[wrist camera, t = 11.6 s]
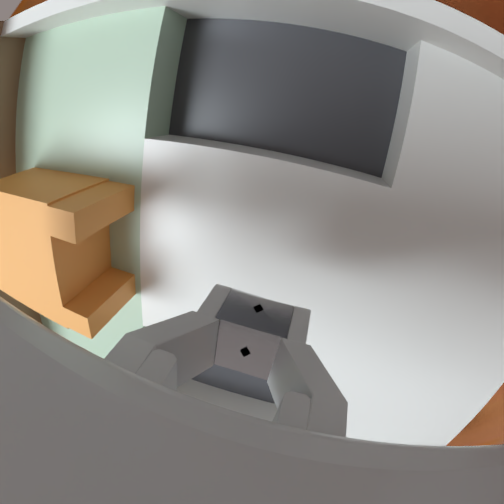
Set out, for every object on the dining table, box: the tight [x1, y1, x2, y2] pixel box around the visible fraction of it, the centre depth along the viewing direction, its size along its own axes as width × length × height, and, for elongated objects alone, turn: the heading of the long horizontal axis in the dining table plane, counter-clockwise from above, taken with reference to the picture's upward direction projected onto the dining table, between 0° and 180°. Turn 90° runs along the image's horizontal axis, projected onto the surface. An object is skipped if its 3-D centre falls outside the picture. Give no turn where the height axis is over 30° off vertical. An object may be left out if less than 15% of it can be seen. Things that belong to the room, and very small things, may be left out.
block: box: [0, 167, 136, 339], centre depth 13 cm, size 6×8×4 cm
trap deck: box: [0, 0, 504, 446], centre depth 13 cm, size 24×34×6 cm
